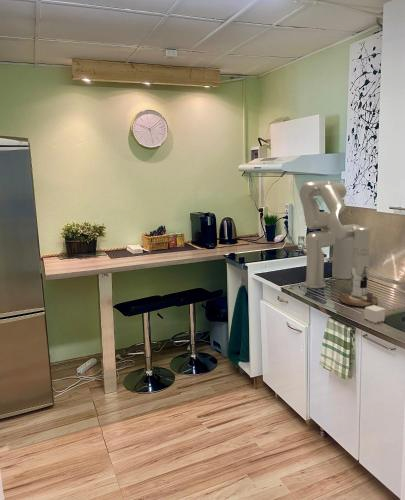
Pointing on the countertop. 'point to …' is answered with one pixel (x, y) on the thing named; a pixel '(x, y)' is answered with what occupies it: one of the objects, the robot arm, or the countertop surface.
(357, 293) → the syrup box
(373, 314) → the white cube
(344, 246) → the cylinder vase
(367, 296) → the turntable
